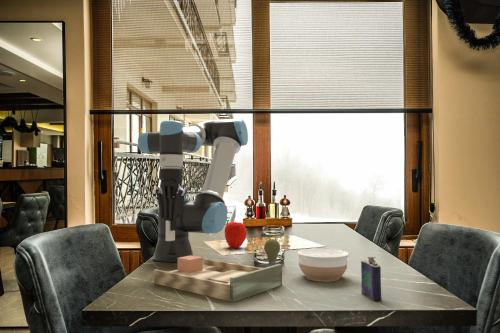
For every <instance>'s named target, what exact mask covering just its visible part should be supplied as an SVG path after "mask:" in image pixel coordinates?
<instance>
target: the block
mask: <svg viewBox="0 0 500 333" xmlns="http://www.w3.org/2000/svg"><path fill="white" fill-rule="evenodd" d="M203 259H204V257H203V256H202V257H201V256H197V255H193V256H191V255H190V256H185V257H180V258H178V262H177V270H178V271H181V272H186V273H193V272H197V271H201V270H203Z"/></svg>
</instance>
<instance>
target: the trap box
mask: <svg viewBox="0 0 500 333" xmlns="http://www.w3.org/2000/svg"><path fill="white" fill-rule="evenodd" d="M153 284H156V285H160V286H163V287H167V288H172V289H176V290H180V291H184V292H185V291H186V292H190V293H194V294H197V295H202V296H206V297H210V298H214V299H217V300H218V299H220V300H223V301H227V302H232V303H235V302H238V301H241V300H243V299H246V298H248V297H252V296H254V295H257V294H260V293H263V292H267V291H269V290H272V289H274V288H277V287H281V286H282V285H283V264H281V263H276V265H273V266H269V265H268V266H267V267H266V266H265V267H257V266H251V265H245V264H240V263H239V264H238V263H235V262H234V263H233V262H227V261H222V260H215V259H208V258H203V270H201V271H197V272H193V273H186V272H181V271H178V269H174V270H170V271H169V270H168V271H166V270H162V269H153Z"/></svg>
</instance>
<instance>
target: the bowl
mask: <svg viewBox="0 0 500 333" xmlns="http://www.w3.org/2000/svg"><path fill="white" fill-rule="evenodd" d="M297 255H298V267H299V269H300V271H301V272H302V273H303V275H305V278H306V279H307V280H310V281H314V282H323V283H324V282H326V283H327V282H335V281H339V280H340V279H341V277H342V276H343V275H344V274H345V272H346V270H347V269H348V257H349V255H350V254H349V252H347V251H345V250H341V249H335V248H321V247H319V248H305V249H300V250H298V251H297Z"/></svg>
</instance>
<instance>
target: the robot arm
mask: <svg viewBox="0 0 500 333" xmlns="http://www.w3.org/2000/svg"><path fill="white" fill-rule="evenodd" d="M159 124H160V126H159V131H152V132H151V131H148V132H142V133H140V135H139V136H138V138H137V143H138V144H137V147H138V149H139V151H140V152H141V153H144V154H159V167H160V169H159V172H158V175H159V176H158V179H159V180H160V181H161V183H160V187H159V188H156V189H155V194H156V196H157V203H158V204H157V205H158V211H157V214H158V218H157V220H158V221H157V222H158V224H157V226H158V227H157V229H158V231H157V232H158V236H157V237H158V238H157V239H158V240H157V242H156V245H155V249H154V250H155V251H154V252H153V260H154V261H156V262H162V263H178V258H180V257H185V256H190V255H191V256H194V251H193V250H192V246H191V242H190V238H189V236H190V235H189V233H196V234H207V235H208V234H218V233H220V232H221V231H222V230H223V229H225V227H226V225H227V221H228V213H229V212H228V207H227V205H226V202H225V200H224V193H225V191H226V188H227V184H228V180H229V176H230V173H231V169H232V165H233V163H234V159H235V156H236V154H239V152H240V150H241V147H242V146H243V147H244V146H246V145H247V144H248V141H249V133H248V127H247V124H246V123H245V121H244V120H243V119H242V118H229V119H228V118H227V119H208V120H204V121H202V122H197V123H192V124H190V125H189V126H185V127H184V124H183V122H182V121H179V120H163V121H161V122H160V123H159ZM201 146H203V147H205V146H206V147H214V152H213V155H212V158H211V161H210V165H209V167H208V171H207V173H206V177H205V181H204V184H203V186H202V189H201V192H199V193H197V194H196V196H195V199H194V201H190V200H189V198H188V197H185V196H186V195H187V190H188V189H184V188H183V187H182V183H181V181H182V180H183V175H184V173H183V169H182V168H183V166H184V164H183V163H184V159H183V158H184V156H183V155H184V154H183V153H187V154H194V153H196V152H198V151H199V150H200V149H201Z"/></svg>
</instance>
